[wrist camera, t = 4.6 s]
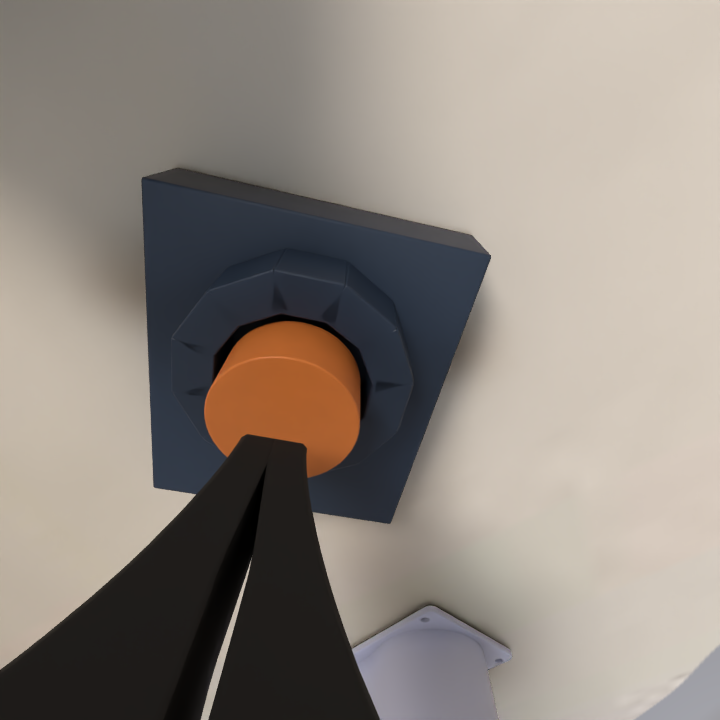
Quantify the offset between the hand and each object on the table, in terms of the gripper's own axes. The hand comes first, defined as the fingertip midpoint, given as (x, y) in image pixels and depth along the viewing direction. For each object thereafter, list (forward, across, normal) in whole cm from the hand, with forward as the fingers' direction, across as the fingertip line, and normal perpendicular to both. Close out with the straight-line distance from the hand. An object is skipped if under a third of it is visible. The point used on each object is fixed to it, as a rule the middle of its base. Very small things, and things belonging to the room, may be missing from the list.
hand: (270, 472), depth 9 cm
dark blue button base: (+8, 0, +2) cm, 8 cm away
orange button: (+4, 0, 0) cm, 4 cm away
